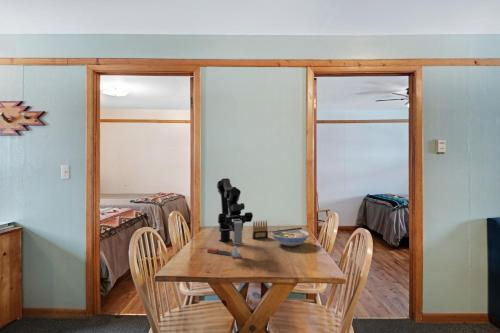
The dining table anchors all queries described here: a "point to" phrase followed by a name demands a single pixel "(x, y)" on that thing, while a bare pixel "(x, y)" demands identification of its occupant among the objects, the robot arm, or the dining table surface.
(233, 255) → the ratchet
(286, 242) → the ramen bowl
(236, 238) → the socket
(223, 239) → the robot arm
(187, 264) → the dining table surface
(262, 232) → the ammunition clip
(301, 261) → the dining table surface
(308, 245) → the dining table surface
